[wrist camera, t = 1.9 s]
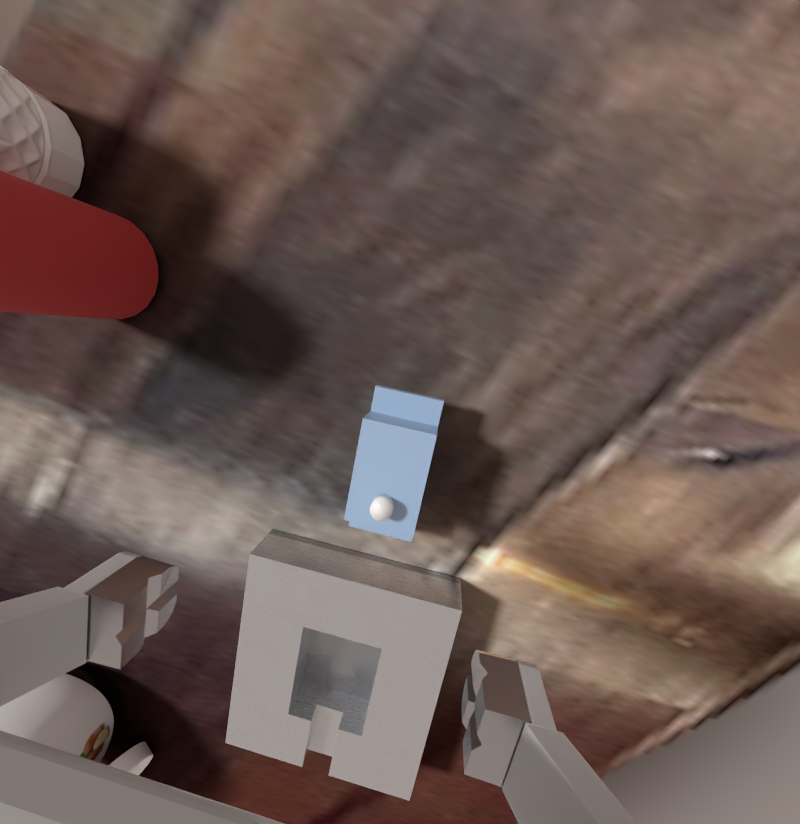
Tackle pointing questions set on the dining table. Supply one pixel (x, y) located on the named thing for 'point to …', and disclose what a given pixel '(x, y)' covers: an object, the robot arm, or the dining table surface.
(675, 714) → the dining table surface
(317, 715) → the plate
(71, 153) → the white cup
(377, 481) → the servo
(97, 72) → the dining table surface
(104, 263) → the beer can
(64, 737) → the spread jar
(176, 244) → the dining table surface
